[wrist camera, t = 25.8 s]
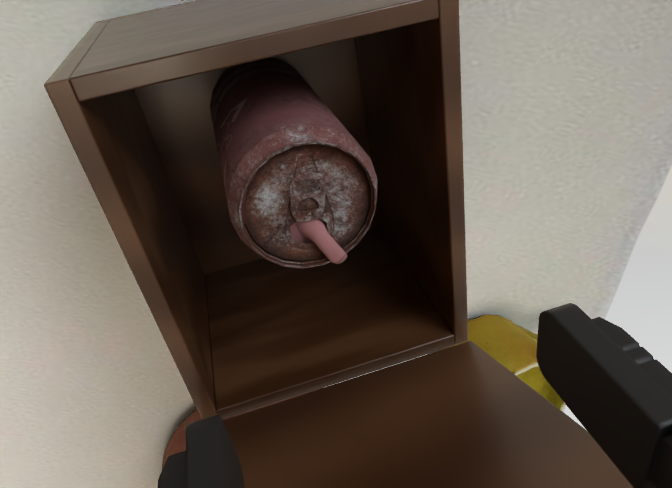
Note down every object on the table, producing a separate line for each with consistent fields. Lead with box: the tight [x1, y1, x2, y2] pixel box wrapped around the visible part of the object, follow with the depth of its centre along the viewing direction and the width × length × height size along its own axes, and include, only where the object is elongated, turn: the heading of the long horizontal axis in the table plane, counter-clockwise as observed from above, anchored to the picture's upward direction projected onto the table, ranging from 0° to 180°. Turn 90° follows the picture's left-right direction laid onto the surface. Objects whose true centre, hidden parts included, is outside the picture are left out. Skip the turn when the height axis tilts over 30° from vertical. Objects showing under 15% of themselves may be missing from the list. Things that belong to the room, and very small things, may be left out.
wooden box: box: [44, 0, 468, 420], centre depth 28 cm, size 18×15×13 cm
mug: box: [438, 315, 565, 411], centre depth 46 cm, size 12×10×10 cm
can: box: [210, 57, 377, 269], centre depth 26 cm, size 6×6×14 cm
